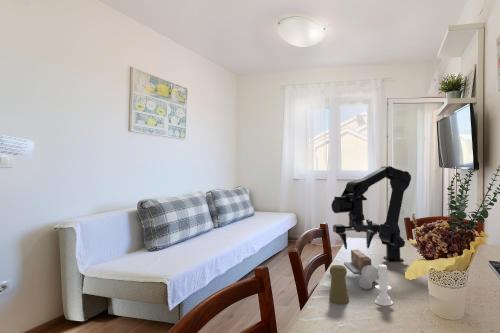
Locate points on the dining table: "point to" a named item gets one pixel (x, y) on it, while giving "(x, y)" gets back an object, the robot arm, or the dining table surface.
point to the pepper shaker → (338, 285)
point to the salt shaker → (368, 277)
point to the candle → (383, 287)
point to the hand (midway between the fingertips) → (356, 248)
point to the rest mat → (353, 267)
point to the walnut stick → (359, 259)
